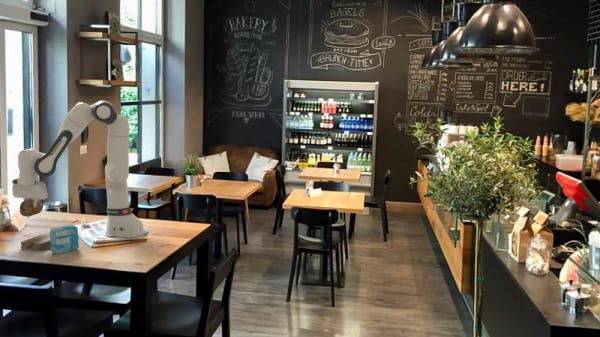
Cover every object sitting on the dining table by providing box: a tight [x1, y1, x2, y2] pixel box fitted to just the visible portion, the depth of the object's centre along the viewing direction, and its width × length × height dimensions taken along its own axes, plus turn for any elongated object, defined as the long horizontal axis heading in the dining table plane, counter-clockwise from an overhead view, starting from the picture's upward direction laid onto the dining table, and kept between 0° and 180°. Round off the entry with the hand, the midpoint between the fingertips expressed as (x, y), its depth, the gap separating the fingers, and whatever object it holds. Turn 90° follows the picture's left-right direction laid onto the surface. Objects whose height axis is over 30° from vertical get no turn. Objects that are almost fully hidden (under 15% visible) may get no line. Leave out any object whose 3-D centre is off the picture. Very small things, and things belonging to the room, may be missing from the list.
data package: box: [49, 224, 80, 255], centre depth 293 cm, size 12×4×12 cm, turn 137°
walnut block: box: [20, 231, 51, 252], centre depth 305 cm, size 12×20×4 cm, turn 164°
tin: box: [19, 199, 44, 218], centre depth 313 cm, size 15×3×8 cm, turn 164°
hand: (31, 206), depth 312 cm, fingers closed on tin, 3 cm apart
